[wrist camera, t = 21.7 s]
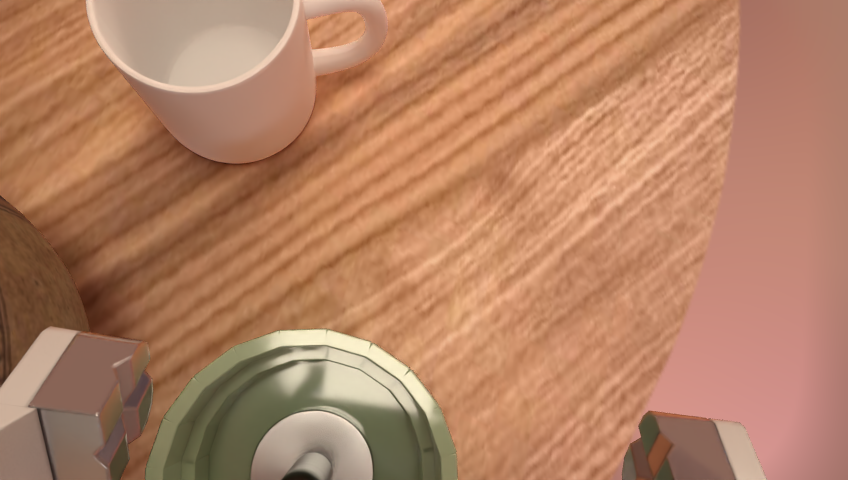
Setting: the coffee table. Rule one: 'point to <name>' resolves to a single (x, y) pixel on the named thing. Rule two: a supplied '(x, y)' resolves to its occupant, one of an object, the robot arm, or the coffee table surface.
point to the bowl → (299, 389)
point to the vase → (31, 289)
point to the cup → (229, 65)
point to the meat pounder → (313, 449)
